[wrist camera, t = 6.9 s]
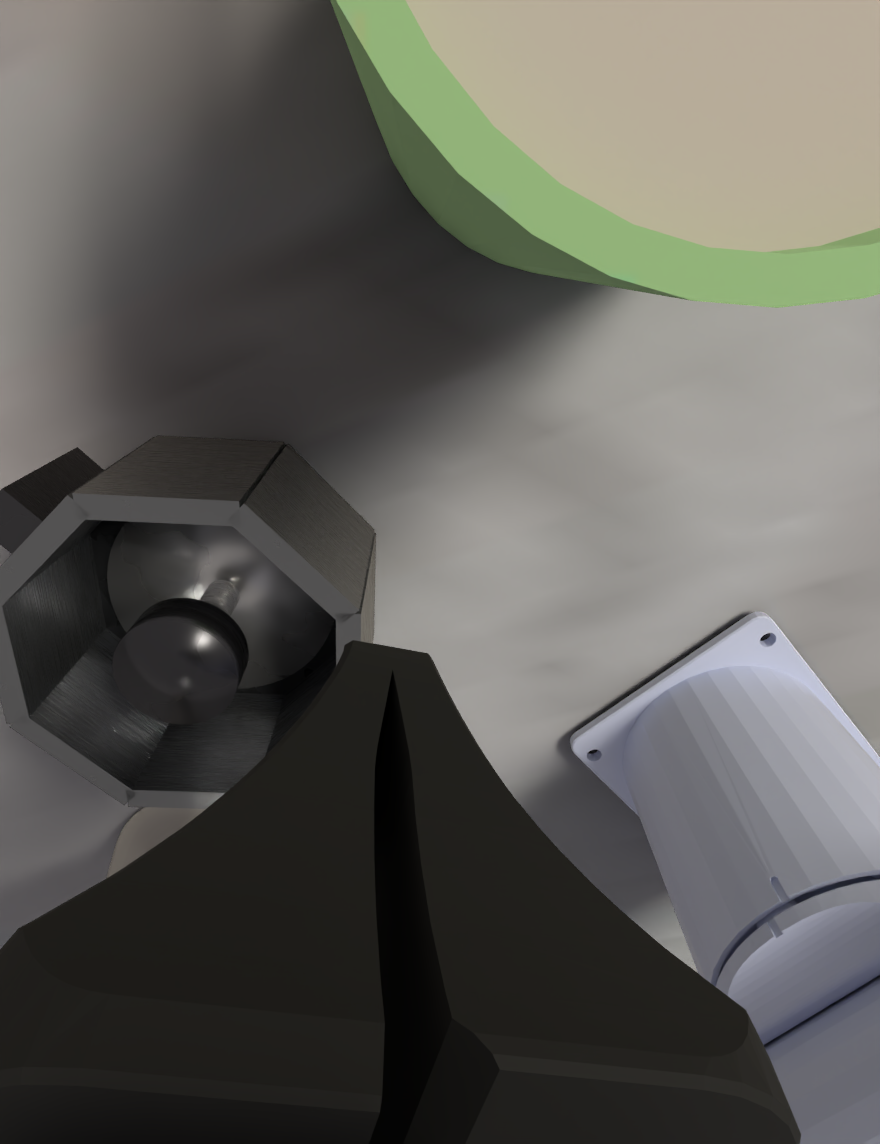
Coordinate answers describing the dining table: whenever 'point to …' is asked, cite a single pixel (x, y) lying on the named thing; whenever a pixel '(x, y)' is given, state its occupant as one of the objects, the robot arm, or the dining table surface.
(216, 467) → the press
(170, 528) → the plunger
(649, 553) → the dining table surface
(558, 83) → the mug
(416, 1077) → the robot arm
